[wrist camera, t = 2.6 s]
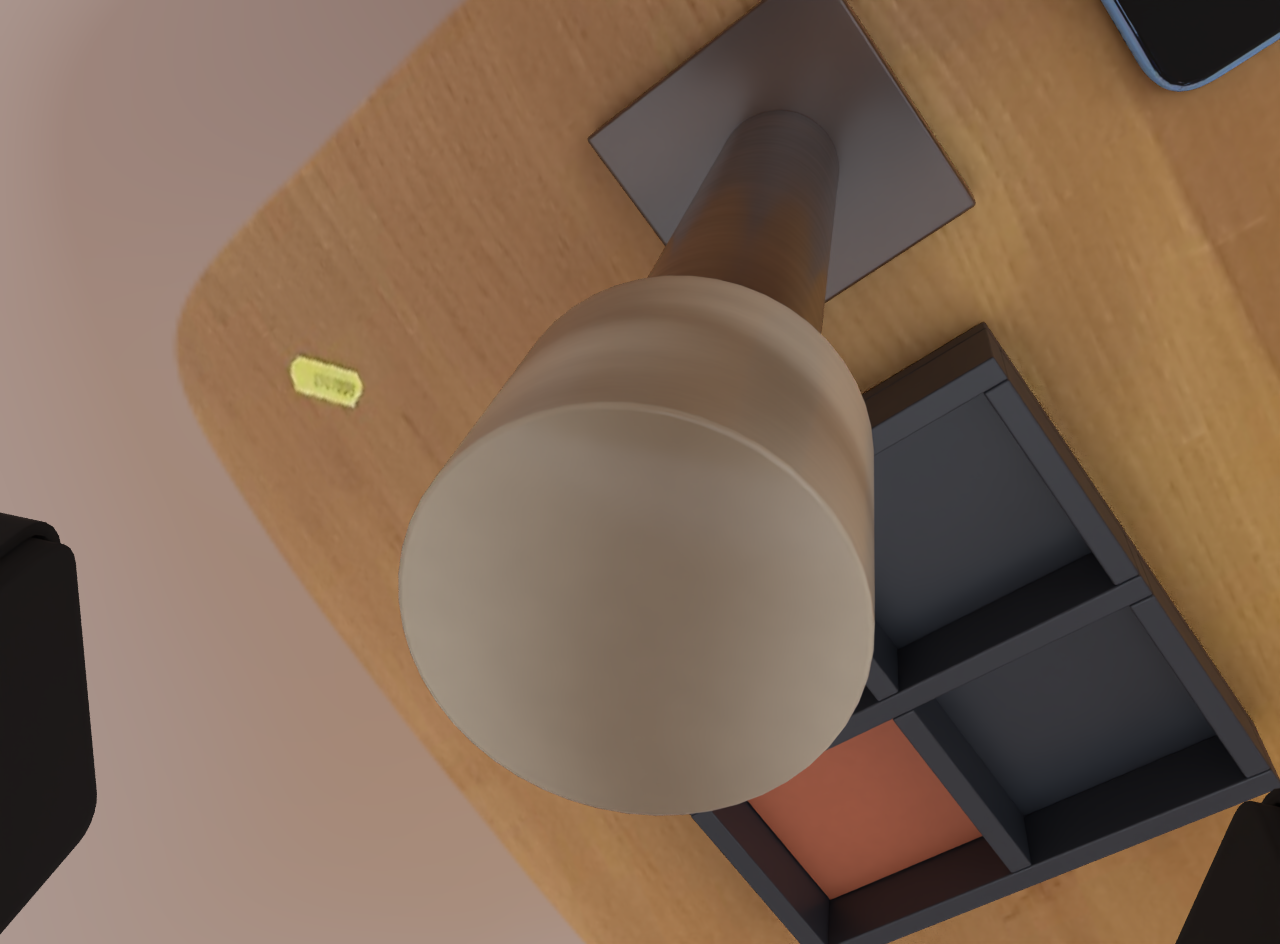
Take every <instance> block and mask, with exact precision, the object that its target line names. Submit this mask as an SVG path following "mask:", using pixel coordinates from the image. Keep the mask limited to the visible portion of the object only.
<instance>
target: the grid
mask: <svg viewBox="0 0 1280 944" xmlns="http://www.w3.org/2000/svg"><path fill="white" fill-rule="evenodd" d="M862 397H863V400H864V402H865V405H866V408H867V412H868V416H869V420H870V424H871V429H872V438H873V447H874V569H875V631H874V652H873V657H872V662H871V667H870V672H869V677H868V679H867V682H866V685H865V688H864V690H863V693H862V696H861V698H860V701H859V703H858V705H857V707H856V708H855V710H854V712H853V714H852V716H851V717H850V719H849V721H848V723H847V724H846V726H845V727H844V728H843V730H842V731H841V732H840V734H839V735H838V736H837V737H836V739H835V740H834V741H833V742H832V744H831V745H830V746H829V747H828V748H827V749H826V750H825V751H824V752H823V753H822V754H821V755H820V756H819V757H818V758H817V759H816V760H815V761H814V762H813V763H812V764H811V765H810V766H808V767H807V768H806V769H804V770H803V771H801V772H800V773H799V774H797V775H796V776H794V777H793V778H792V779H790V780H789V781H787V782H786V783H784V784H782V785H780V786H778V787H776V788H774V789H773V790H771V791H769V792H767V793H765V794H763V795H761V796H758V797H755V798H753V799H750V800H748V801H745V802H742V803H740V804H737V805H733V806H729V807H725V808H721V809H717V810H713V811H708V812H700V813H693V814H690V815H691V817H692V818H693V819H694V820H695V822H696V823H697V824H698V825H699V826H700V827H701V829H702V830H703V831H704V832H705V833H706V834H707V836H708V837H709V838H710V839H711V840H712V841H713V843H714V844H715V845H716V846H717V847H718V848H719V850H720V851H721V852H722V853H723V854H724V855H725V857H726V858H727V859H728V860H729V861H730V862H731V864H732V865H733V866H734V867H735V868H736V869H737V871H738V872H739V873H740V874H741V875H742V876H743V878H744V879H745V880H746V881H747V882H748V883H749V885H750V886H751V887H752V888H753V889H754V890H755V892H756V893H757V894H758V895H759V896H760V897H761V899H762V900H763V901H764V902H765V903H766V904H767V906H768V907H769V908H770V909H771V910H772V911H773V913H774V914H775V915H776V916H777V917H778V918H779V920H780V921H781V922H782V923H783V924H784V925H785V926H786V928H787V929H788V930H789V931H790V932H791V933H792V935H793V936H794V937H795V938H796V939H797V940H798V942H799V943H800V944H887V943H889V942H892V941H894V940H897V939H899V938H902V937H904V936H907V935H909V934H912V933H914V932H917V931H919V930H922V929H924V928H927V927H929V926H932V925H935V924H937V923H940V922H942V921H945V920H947V919H950V918H952V917H955V916H957V915H960V914H962V913H965V912H967V911H970V910H972V909H975V908H977V907H980V906H983V905H985V904H988V903H990V902H993V901H995V900H998V899H1000V898H1003V897H1005V896H1008V895H1010V894H1013V893H1015V892H1018V891H1020V890H1023V889H1025V888H1028V887H1030V886H1033V885H1036V884H1038V883H1041V882H1043V881H1046V880H1048V879H1051V878H1053V877H1056V876H1058V875H1061V874H1063V873H1066V872H1068V871H1071V870H1073V869H1076V868H1078V867H1081V866H1083V865H1086V864H1089V863H1091V862H1094V861H1096V860H1099V859H1101V858H1104V857H1106V856H1109V855H1111V854H1114V853H1116V852H1119V851H1121V850H1124V849H1126V848H1129V847H1131V846H1134V845H1136V844H1139V843H1142V842H1144V841H1147V840H1149V839H1152V838H1154V837H1157V836H1159V835H1162V834H1164V833H1167V832H1169V831H1172V830H1174V829H1177V828H1179V827H1182V826H1184V825H1187V824H1189V823H1192V822H1195V821H1197V820H1200V819H1202V818H1205V817H1207V816H1210V815H1212V814H1215V813H1217V812H1220V811H1222V810H1225V809H1227V808H1230V807H1232V806H1235V805H1237V804H1240V803H1242V802H1245V801H1248V800H1250V799H1253V798H1255V797H1258V796H1260V795H1263V794H1265V793H1268V792H1270V791H1272V790H1273V789H1277V788H1280V779H1279V777H1278V775H1277V773H1276V770H1275V768H1274V766H1273V764H1272V762H1271V759H1270V757H1269V755H1268V753H1267V751H1266V749H1265V746H1264V744H1263V742H1262V740H1261V738H1260V736H1259V734H1258V731H1257V729H1256V727H1255V725H1254V723H1253V722H1252V720H1251V719H1250V717H1249V716H1248V714H1247V713H1246V711H1245V710H1244V708H1243V707H1242V705H1241V704H1240V702H1239V701H1238V699H1237V698H1236V696H1235V695H1234V693H1233V692H1232V690H1231V689H1230V687H1229V686H1228V684H1227V683H1226V681H1225V680H1224V678H1223V677H1222V676H1221V674H1220V673H1219V671H1218V670H1217V668H1216V667H1215V665H1214V664H1213V662H1212V661H1211V659H1210V658H1209V656H1208V655H1207V653H1206V652H1205V650H1204V649H1203V647H1202V646H1201V644H1200V643H1199V641H1198V640H1197V638H1196V637H1195V635H1194V634H1193V632H1192V631H1191V629H1190V628H1189V626H1188V625H1187V623H1186V622H1185V620H1184V619H1183V617H1182V616H1181V614H1180V613H1179V611H1178V610H1177V608H1176V607H1175V605H1174V604H1173V602H1172V601H1171V599H1170V598H1169V596H1168V595H1167V593H1166V592H1165V590H1164V589H1163V587H1162V586H1161V584H1160V583H1159V581H1158V580H1157V578H1156V577H1155V575H1154V574H1153V572H1152V571H1151V570H1150V568H1149V567H1148V565H1147V564H1146V562H1145V561H1144V559H1143V558H1142V556H1141V555H1140V553H1139V552H1138V550H1137V549H1136V547H1135V546H1134V544H1133V543H1132V541H1131V540H1130V538H1129V537H1128V535H1127V534H1126V532H1125V531H1124V529H1123V528H1122V526H1121V525H1120V523H1119V522H1118V520H1117V519H1116V517H1115V516H1114V514H1113V513H1112V511H1111V510H1110V508H1109V507H1108V505H1107V504H1106V502H1105V501H1104V499H1103V498H1102V496H1101V495H1100V493H1099V492H1098V490H1097V489H1096V487H1095V486H1094V484H1093V483H1092V481H1091V480H1090V478H1089V477H1088V475H1087V474H1086V472H1085V471H1084V469H1083V468H1082V467H1081V465H1080V464H1079V462H1078V461H1077V459H1076V458H1075V456H1074V455H1073V453H1072V452H1071V450H1070V449H1069V447H1068V446H1067V444H1066V443H1065V441H1064V440H1063V438H1062V437H1061V435H1060V434H1059V432H1058V431H1057V429H1056V428H1055V426H1054V425H1053V423H1052V422H1051V420H1050V419H1049V417H1048V416H1047V414H1046V413H1045V411H1044V410H1043V408H1042V407H1041V405H1040V404H1039V402H1038V401H1037V399H1036V398H1035V396H1034V395H1033V393H1032V392H1031V390H1030V389H1029V387H1028V386H1027V384H1026V383H1025V381H1024V380H1023V378H1022V377H1021V375H1020V374H1019V372H1018V371H1017V369H1016V368H1015V366H1014V365H1013V363H1012V362H1011V361H1010V359H1009V358H1008V356H1007V355H1006V353H1005V352H1004V350H1003V349H1002V347H1001V346H1000V344H999V343H998V341H997V340H996V338H995V337H994V335H993V334H992V332H991V331H990V329H989V328H988V326H987V325H986V323H984V322H982V323H980V324H979V325H977V326H975V327H974V328H972V329H970V330H969V331H967V332H965V333H964V334H962V335H960V336H959V337H957V338H955V339H954V340H952V341H951V342H949V343H947V344H946V345H944V346H942V347H941V348H939V349H937V350H936V351H934V352H932V353H931V354H929V355H927V356H926V357H924V358H922V359H921V360H919V361H917V362H916V363H914V364H913V365H911V366H909V367H908V368H906V369H904V370H903V371H901V372H899V373H898V374H896V375H894V376H893V377H891V378H889V379H888V380H886V381H884V382H883V383H881V384H879V385H878V386H876V387H875V388H873V389H871V390H870V391H868V392H866V393H865V394H863V395H862Z"/></svg>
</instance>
